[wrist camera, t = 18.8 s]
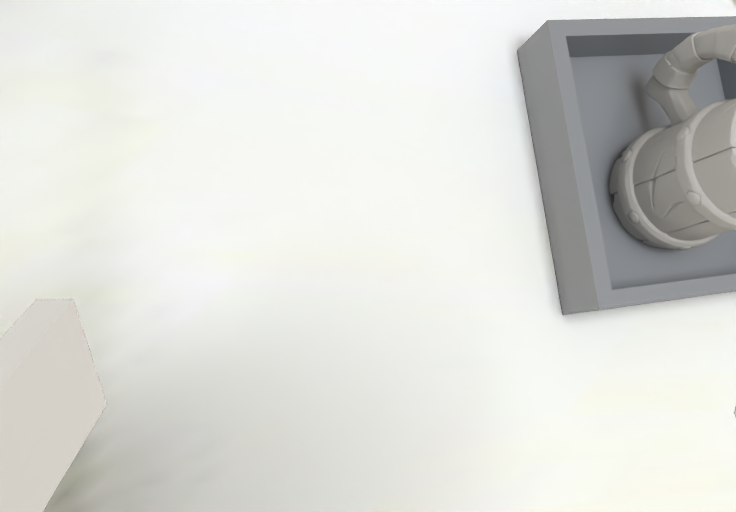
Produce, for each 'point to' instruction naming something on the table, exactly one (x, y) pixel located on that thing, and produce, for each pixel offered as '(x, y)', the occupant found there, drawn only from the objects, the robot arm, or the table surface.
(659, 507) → the table surface
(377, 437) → the table surface
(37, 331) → the robot arm
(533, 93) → the box
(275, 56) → the table surface
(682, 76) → the mug
